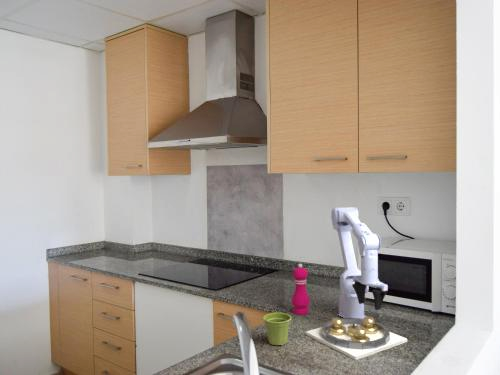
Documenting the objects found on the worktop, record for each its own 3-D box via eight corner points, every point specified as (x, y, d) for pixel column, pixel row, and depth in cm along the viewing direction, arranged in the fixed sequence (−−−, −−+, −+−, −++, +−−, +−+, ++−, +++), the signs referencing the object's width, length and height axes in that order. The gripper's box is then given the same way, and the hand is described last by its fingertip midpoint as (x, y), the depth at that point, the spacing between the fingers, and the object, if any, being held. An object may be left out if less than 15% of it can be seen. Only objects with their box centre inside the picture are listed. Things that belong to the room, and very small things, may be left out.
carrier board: (305, 334, 147) (305, 331, 147) (354, 320, 160) (354, 317, 160) (355, 360, 127) (355, 356, 127) (407, 341, 139) (407, 338, 139)
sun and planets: (325, 331, 147) (324, 318, 147) (343, 326, 152) (342, 313, 151) (360, 348, 133) (360, 334, 133) (379, 341, 137) (379, 328, 137)
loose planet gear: (356, 329, 148) (356, 317, 148) (368, 326, 151) (368, 314, 151) (369, 335, 143) (369, 322, 142) (381, 331, 146) (381, 319, 145)
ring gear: (308, 331, 147) (308, 326, 147) (354, 318, 159) (354, 313, 158) (355, 355, 128) (355, 348, 128) (403, 338, 139) (403, 332, 139)
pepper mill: (290, 314, 168) (289, 265, 167) (294, 308, 175) (293, 261, 174) (307, 316, 166) (307, 266, 165) (311, 310, 172) (310, 262, 171)
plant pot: (271, 350, 135) (271, 324, 134) (259, 339, 143) (258, 315, 143) (296, 345, 138) (296, 319, 138) (283, 335, 147) (283, 310, 147)
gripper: (393, 270, 143) (393, 309, 143) (362, 262, 155) (362, 298, 156) (379, 273, 139) (379, 313, 140) (348, 265, 152) (348, 302, 152)
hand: (369, 306), depth 148 cm, fingers open, 7 cm apart
